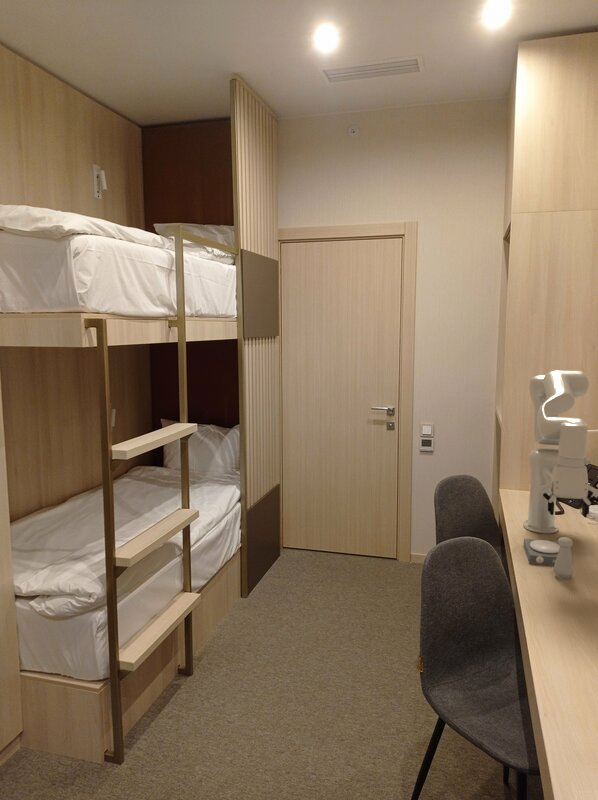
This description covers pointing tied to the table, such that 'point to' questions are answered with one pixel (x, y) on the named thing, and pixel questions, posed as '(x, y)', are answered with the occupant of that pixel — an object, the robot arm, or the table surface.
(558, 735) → the table surface
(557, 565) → the salt shaker
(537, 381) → the robot arm
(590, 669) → the table surface
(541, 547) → the scale
